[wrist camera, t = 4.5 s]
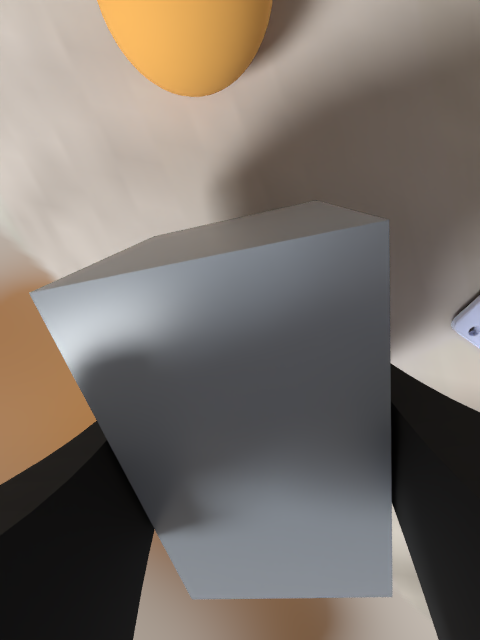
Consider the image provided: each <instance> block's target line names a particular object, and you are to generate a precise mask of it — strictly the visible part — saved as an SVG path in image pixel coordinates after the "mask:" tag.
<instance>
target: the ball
mask: <svg viewBox="0 0 480 640" xmlns="http://www.w3.org/2000/svg"><path fill="white" fill-rule="evenodd" d="M97 1H98V4H99V7H100V10H101V13H102V15H103V18H104V20H105V22H106V24H107V26H108V28H109V30H110V32H111V34H112V36H113V38H114V39H115V41H116V43H117V44H118V46H119V48H120V49H121V51H122V52H123V53H124V55H125V56H126V57H127V59H128V60H129V61H130V62H131V63H132V64H133V65H134V67H135V68H136V69H137V70H138V71H139V72H140V73H141V74H142V75H144V76H145V77H146V78H147V79H148V80H150V81H151V82H153V83H154V84H156V85H157V86H159V87H161V88H162V89H164V90H167V91H169V92H171V93H174V94H178V95H182V96H190V97H200V96H206V95H211V94H214V93H216V92H219V91H221V90H223V89H224V88H226V87H228V86H229V85H231V84H232V83H233V82H234V81H236V80H237V79H238V78H239V77H240V76H241V75H242V74H243V73H244V71H245V70H246V69H247V67H248V66H249V65H250V63H251V62H252V60H253V58H254V57H255V55H256V53H257V51H258V49H259V47H260V45H261V43H262V40H263V38H264V35H265V32H266V29H267V26H268V22H269V18H270V13H271V8H272V1H273V0H97Z"/></svg>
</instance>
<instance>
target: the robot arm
mask: <svg viewBox="0 0 480 640" xmlns="http://www.w3.org/2000/svg"><path fill="white" fill-rule="evenodd" d="M451 326H452V328H453V330H454V331H456V332H457V333H458V334H460V335H461V336H462V337H464V338H465V339H467V340H468V341H469V342H471V343H472V344H474V345H475V346H476V347H478V348H479V349H480V295H479V296H478V297H477V298H476V299H475V300H474V301H473V302H472V303H470V304H469V305H468V306H467V307H466V308H465V309H464V310H463V311H462V312H460V313H459V314H458V315H457V316H456V317H455V318H454V319H453V321H452V324H451ZM474 326H475V328H474V330H473V331H471V332H468V331H469V330H470V328H472V327H474ZM390 374H391V492H392V504H393V507H394V510H395V512H396V515H397V518H398V521H399V524H400V526H401V529H402V532H403V535H404V538H405V541H406V543H407V546H408V549H409V552H410V555H411V558H412V561H413V564H414V567H415V570H416V573H417V576H418V578H419V581H420V584H421V587H422V590H423V593H424V596H425V599H426V602H427V606H428V609H429V612H430V615H431V618H432V621H433V624H434V627H435V630H436V633H437V636H438V639H439V640H480V412H478V411H476V410H474V409H471V408H469V407H467V406H465V405H463V404H461V403H459V402H457V401H455V400H453V399H451V398H449V397H447V396H445V395H443V394H441V393H439V392H438V391H436V390H434V389H432V388H430V387H429V386H427V385H425V384H423V383H421V382H420V381H418V380H416V379H415V378H413V377H411V376H410V375H408V374H406V373H405V372H403V371H402V370H400V369H399V368H397V367H395V366H394V365H392V364H391V363H390ZM153 534H154V527H153V525H152V523H151V521H150V519H149V517H148V516H147V514H146V512H145V510H144V508H143V506H142V504H141V502H140V501H139V499H138V497H137V495H136V493H135V491H134V489H133V487H132V486H131V484H130V482H129V480H128V478H127V476H126V474H125V472H124V471H123V469H122V467H121V465H120V463H119V461H118V459H117V457H116V455H115V454H114V452H113V450H112V448H111V446H110V444H109V442H108V440H107V439H106V437H105V435H104V433H103V431H102V429H101V427H100V425H99V424H98V422H97V421H96V422H94V423H93V424H92V425H91V426H89V427H88V428H87V429H86V430H84V431H83V432H82V433H81V434H79V435H78V436H76V437H75V438H74V439H72V440H71V441H70V442H68V443H67V444H65V445H64V446H62V447H61V448H59V449H58V450H56V451H55V452H53V453H52V454H50V455H49V456H47V457H46V458H44V459H43V460H41V461H40V462H38V463H36V464H35V465H33V466H31V467H30V468H28V469H26V470H25V471H23V472H21V473H20V474H18V475H16V476H15V477H13V478H11V479H10V480H8V481H7V482H5V483H3V484H1V485H0V640H133V636H134V630H135V625H136V619H137V614H138V608H139V602H140V596H141V590H142V585H143V581H144V576H145V571H146V565H147V561H148V556H149V551H150V547H151V542H152V538H153Z"/></svg>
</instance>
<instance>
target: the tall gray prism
mask: <svg viewBox="0 0 480 640" xmlns="http://www.w3.org/2000/svg"><path fill="white" fill-rule="evenodd" d="M29 294H30V296H31V297H32V299H33V301H34V303H35V305H36V307H37V309H38V311H39V313H40V314H41V316H42V318H43V320H44V322H45V324H46V326H47V328H48V329H49V331H50V333H51V335H52V337H53V339H54V341H55V343H56V344H57V346H58V348H59V350H60V352H61V354H62V356H63V358H64V360H65V362H66V363H67V365H68V367H69V369H70V371H71V373H72V375H73V376H74V378H75V380H76V382H77V384H78V386H79V388H80V390H81V392H82V393H83V395H84V397H85V399H86V401H87V403H88V405H89V407H90V408H91V410H92V412H93V414H94V416H95V418H96V420H97V422H98V424H99V425H100V427H101V429H102V431H103V433H104V435H105V437H106V439H107V440H108V442H109V444H110V446H111V448H112V450H113V452H114V454H115V455H116V457H117V459H118V461H119V463H120V465H121V467H122V469H123V471H124V472H125V474H126V476H127V478H128V480H129V482H130V484H131V486H132V487H133V489H134V491H135V493H136V495H137V497H138V499H139V501H140V502H141V504H142V506H143V508H144V510H145V512H146V514H147V516H148V517H149V519H150V521H151V523H152V525H153V527H154V529H155V531H156V533H157V534H158V536H159V538H160V540H161V542H162V544H163V546H164V547H165V549H166V551H167V553H168V555H169V557H170V559H171V561H172V562H173V564H174V566H175V568H176V570H177V572H178V574H179V576H180V578H181V579H182V581H183V583H184V585H185V587H186V589H187V591H188V593H189V594H190V596H191V598H192V599H253V598H255V599H257V598H334V597H335V598H337V597H338V598H343V597H392V492H391V374H390V255H389V220H388V219H384V218H381V217H377V216H373V215H370V214H366V213H362V212H358V211H355V210H351V209H347V208H343V207H340V206H336V205H332V204H328V203H325V202H321V201H317V200H316V201H312V202H307V203H303V204H298V205H294V206H289V207H285V208H280V209H276V210H271V211H267V212H262V213H257V214H253V215H248V216H244V217H239V218H235V219H230V220H226V221H221V222H217V223H212V224H208V225H203V226H199V227H194V228H190V229H185V230H181V231H176V232H172V233H167V234H163V235H158V236H154V237H152V238H149V239H147V240H145V241H143V242H141V243H138V244H136V245H134V246H132V247H130V248H127V249H125V250H123V251H121V252H119V253H116V254H114V255H112V256H110V257H107V258H105V259H103V260H101V261H99V262H96V263H94V264H92V265H90V266H88V267H85V268H83V269H81V270H79V271H77V272H74V273H72V274H70V275H68V276H65V277H63V278H61V279H59V280H57V281H54V282H52V283H50V284H48V285H46V286H43V287H41V288H39V289H37V290H35V291H32V292H30V293H29Z"/></svg>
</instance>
